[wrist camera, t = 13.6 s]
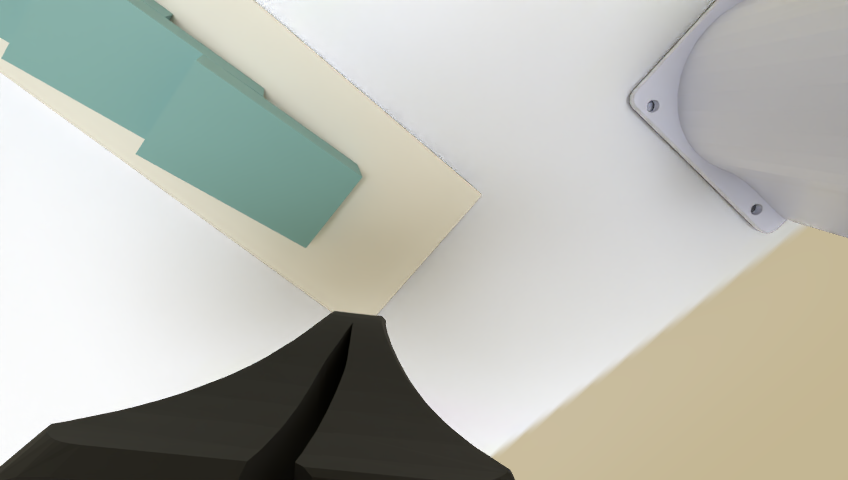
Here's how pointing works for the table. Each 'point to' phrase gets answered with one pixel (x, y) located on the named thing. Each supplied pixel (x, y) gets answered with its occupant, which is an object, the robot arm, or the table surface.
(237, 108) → the teal green rectangular block
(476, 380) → the table surface
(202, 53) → the tile
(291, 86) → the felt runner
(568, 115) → the table surface
